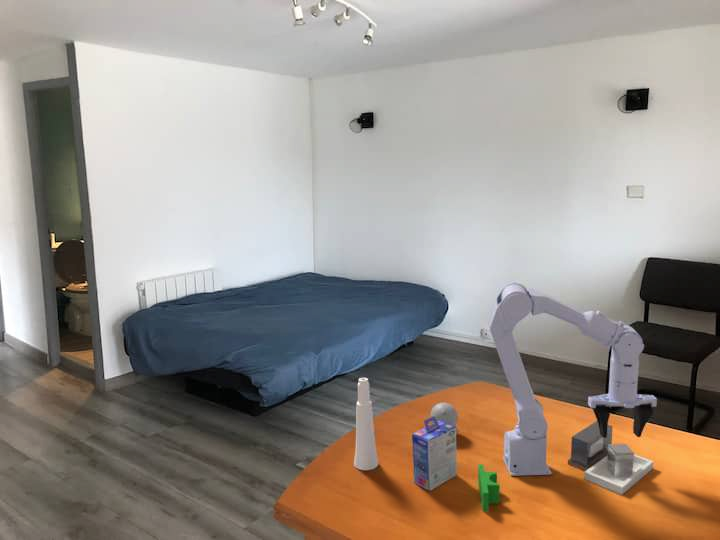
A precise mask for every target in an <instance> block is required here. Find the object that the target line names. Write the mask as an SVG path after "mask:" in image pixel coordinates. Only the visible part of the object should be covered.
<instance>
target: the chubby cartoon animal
mask: <svg viewBox="0 0 720 540" xmlns="http://www.w3.org/2000/svg"><path fill="white" fill-rule="evenodd" d="M433 416H435V418H436V420H437V421H439V420H440V421H443V422H446V423H448V424H450V425H453V426H455V427H456V435H457V434H458V433H459V431H458V429H459V428H458V427H457V423H458V418H459V417H458V416H459V415H458V411H457V410H456V408H455V407H454V406H453V405H452V404H451V403H448V402H439V403H437V404H435V405H434V406H433V407H432V409H431V411H430V416H429V418H431V417H433ZM433 423H435V422H434V421H431V424H433Z"/></svg>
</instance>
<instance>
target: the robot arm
mask: <svg viewBox="0 0 720 540" xmlns="http://www.w3.org/2000/svg"><path fill="white" fill-rule="evenodd" d="M530 313H531V315H532V316H533V317H535V316H537V315H541V314H547V315H549V316H551V317H555V318H556V319H559V320H561V321H564V322H567V323H569V324H572V325H574V326H576V327H577V329H578V332H579V333H580V335H583V336H585V337H587V338H589V339H591V340H594V341H595V342H598V343H600V344H602V345H605V346H607V347H611V355H610V361H609V362H610V363H609V364H610V365H609V380H608V381H609V382H608V393H605V394H600V395H594V396H593V395H592V396H588V397H587V399H588V400H587V405H588V406H589V407H590V408H591V409H592V411H593V413H594V415H595V418H596V421H597V422H598V425H599V430H600V435H601V436H602V437H603V438H607V425H609V419H610V416H611V413H610V412H609V411H608V408H607V407H624V408H625V409H633V424H632V425H633V426H632V431H633V432H632V433H633V434H634V435H635V436H636V437H637V438H641V437H642V433H643V430H644V428H645V427H646V425H647V423H648V421H649V419H650V418H651V417H653V415H654V412H655V410H654V409H653V408H654V407H657V402H658V401H657V400H658V398H657V397H655V396H654V395H653V394H651V395H650V394H640V393H639V394H638V382H639V381H638V380H639V365H640V359H639V357H640V354H641V353H642V352H643V351H644V348H645V344H644V343H643V341H644V340H643V338H642V336H641V335H640V334H639V333H638V332H637V331H636V330H635V329H634V327H632V326H630V325H629V324H628V323H626V322H625V323H624V322H623V321H621V320H619V321H615V320H613V319H611V318H609V317H606V316H605V313H604V312H603V311H601V310H596V312H595V311H594V310H588V311H585V312H582V311H580V310H579V309H576V308H574V307H572V306H570V305H568V304H566V303H564V302H563V301H561V300H558V299H556V298H554V297H552V296H551V295H548V294H546V293H544V292H542V291H540V290H538V289H535V288H532V287H529V286H527V287H525V286H524V285H523V284H522V283H518V282H511V283H508V284H506V285H504V287H503V288H502V289H501V291H500V292H499V293H498V295H497V296H496V300H495V304H494V309H493V312H492V314H491V318H490V322H489V332H490V335H491V338H492V340H493V343H494V346H495V348H496V351H497V353H498V354H497V355H498V357H499V360H500V364H501V366H502V369H503V371H504V374H505V377H506V380H507V383H508V386H509V388H510V391H511V395H512V397H513V401H514V404H515V406H516V407H515V412H516V416H517V423H516V425H515V427H514V429H513V430H510V431H509V430H508V431H505V433H504V436H503V439H504V440H503V456H502V459H503V461H504V464H505V466H506V468H507V470H508V472H509V475H510V476H512V477H513V476H544V475H545V476H549V475H553V473H552V470H551V469H550V467H549V465H548V464H547V442H548V441H547V440H548V439H547V438H548V422H547V420H546V417H545V415H544V414H545V413H544V408H543V405H542V403H541V402H540V401H539V400H538V399H537V398H536V396H535V394H534V391H533V389H532V386H531V384H530V381H529V378H528V374H527V372H526V369H525V366H524V363H523V361H522V356H521V355H520V351H519V349H518V346H517V343H516V340H515V337H514V334H513V331H514V329H515V328H516V326H517V324H518V323H520V322H521V321H522V320H523V319H525V318H526V317H527V316H529V315H530ZM652 407H653V408H652Z"/></svg>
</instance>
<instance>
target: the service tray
mask: <svg viewBox="0 0 720 540" xmlns="http://www.w3.org/2000/svg"><path fill="white" fill-rule="evenodd" d="M607 458H608V455H607V456H606V457H604V458H603V459H601V460H600V461H599V462H597V463H596V464H595V465H593V466H592V467H591V468H589V469H588V470H586V471H584V473H583V474H584V475H583V476H584V477H583V480H586V481H587V482H590V483H592V484H594V485H597V486H599V487H602V488H604V489H607V490H609V491H611V492H613V493H616V494H619V495H621V496H623V495H624V494H626V492H627V491H629V490H630V489H631V488H632V487H633V486H634V485H636V484H637V483H638V482H639V481H640V480H641V479H642V478H644V477H645V476H646V475H647V474H648V473H650V472H651V471H652V470H653V469H654V461H653V460H651V459H648V458H646V457H643V456H640V455H637V454H635V453H634V459H633V472H632V475H631V476H630V477H614V476H613V475H612V474H611V472H610V471H609V470H608V469H607Z"/></svg>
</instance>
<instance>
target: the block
mask: <svg viewBox="0 0 720 540" xmlns="http://www.w3.org/2000/svg"><path fill="white" fill-rule="evenodd" d="M634 454H635V453H634V451H633V450H632V449H631V447H629V446H628V445H627V444H626V443H612V444H608V458H607V469H608V470H609V471H610V472H611V474H612V475H613V476H614V477H630V476H631V475H632V472H633V459H634Z"/></svg>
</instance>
